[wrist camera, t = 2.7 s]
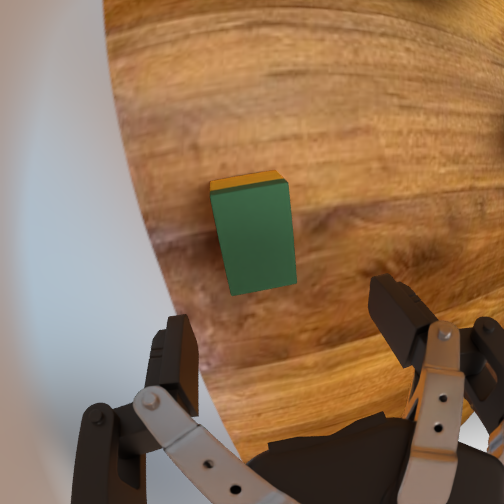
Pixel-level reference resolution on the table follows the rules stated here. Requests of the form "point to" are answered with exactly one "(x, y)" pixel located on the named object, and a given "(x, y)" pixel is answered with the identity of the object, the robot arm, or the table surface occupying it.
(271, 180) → the sponge
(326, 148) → the table surface
